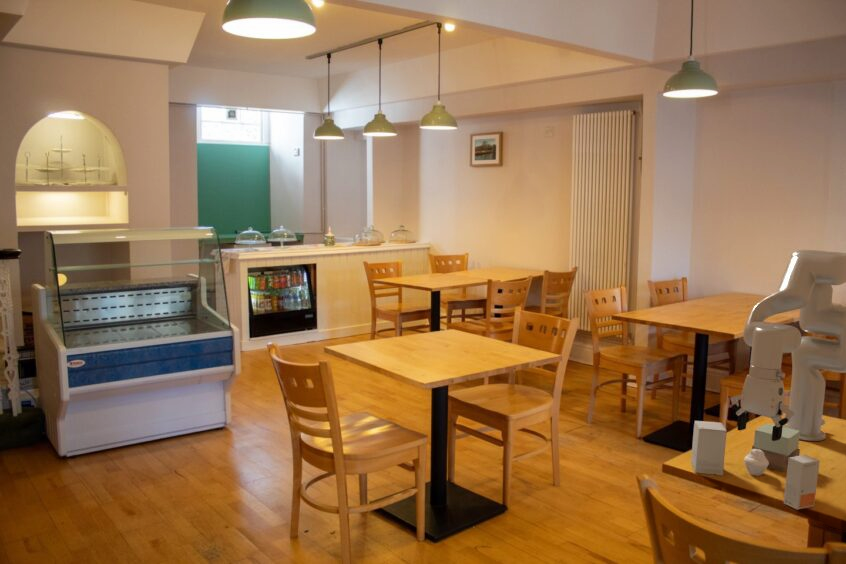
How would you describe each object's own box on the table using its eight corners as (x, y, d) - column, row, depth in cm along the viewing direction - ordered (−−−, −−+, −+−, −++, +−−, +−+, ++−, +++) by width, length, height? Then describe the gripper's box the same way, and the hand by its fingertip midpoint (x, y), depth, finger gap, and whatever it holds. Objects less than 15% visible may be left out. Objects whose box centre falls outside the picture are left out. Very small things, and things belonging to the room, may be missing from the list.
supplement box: (723, 475, 197) (727, 430, 195) (694, 473, 198) (698, 428, 196) (718, 465, 204) (722, 422, 202) (690, 462, 205) (693, 419, 204)
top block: (765, 439, 213) (766, 423, 212) (798, 448, 206) (799, 431, 206) (753, 446, 206) (755, 429, 205) (787, 455, 200) (789, 438, 199)
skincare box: (797, 510, 177) (802, 463, 175) (782, 503, 180) (787, 457, 179) (815, 506, 179) (820, 460, 177) (800, 499, 183) (805, 454, 181)
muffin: (748, 467, 204) (750, 443, 203) (771, 473, 199) (773, 449, 198) (739, 472, 199) (741, 448, 198) (762, 479, 195) (764, 454, 194)
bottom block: (767, 456, 213) (768, 439, 213) (798, 466, 206) (799, 449, 206) (750, 462, 208) (752, 445, 207) (781, 472, 201) (783, 455, 200)
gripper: (804, 378, 191) (797, 442, 193) (742, 364, 204) (736, 423, 206) (789, 382, 186) (782, 446, 188) (727, 367, 200) (721, 427, 202)
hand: (758, 434), depth 197 cm, fingers open, 9 cm apart
